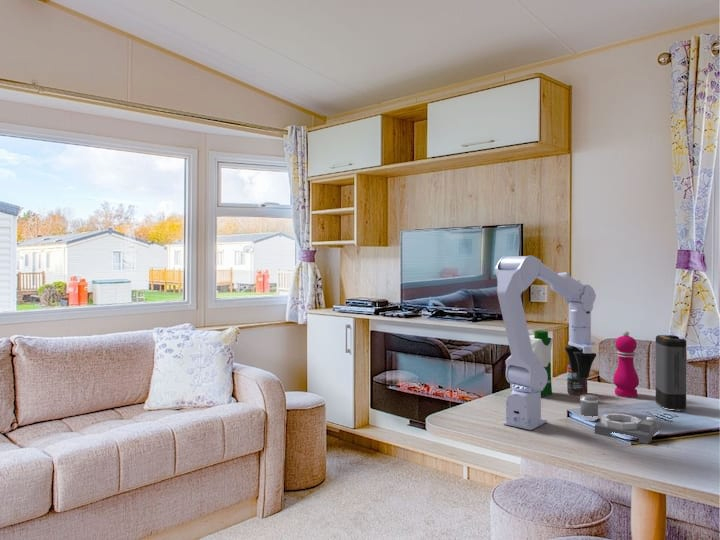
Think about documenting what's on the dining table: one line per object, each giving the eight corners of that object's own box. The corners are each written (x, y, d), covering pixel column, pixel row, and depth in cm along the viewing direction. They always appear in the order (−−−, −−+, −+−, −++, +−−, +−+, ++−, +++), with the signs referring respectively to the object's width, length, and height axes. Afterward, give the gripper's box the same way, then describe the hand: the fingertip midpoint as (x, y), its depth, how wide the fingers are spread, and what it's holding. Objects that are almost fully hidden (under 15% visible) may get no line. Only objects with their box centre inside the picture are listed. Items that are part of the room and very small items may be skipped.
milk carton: (539, 398, 169) (539, 333, 169) (515, 392, 177) (514, 330, 176) (556, 393, 175) (556, 330, 174) (532, 388, 182) (531, 328, 181)
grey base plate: (647, 444, 128) (647, 425, 128) (594, 433, 136) (594, 415, 136) (660, 433, 135) (660, 415, 135) (609, 423, 144) (609, 407, 144)
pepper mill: (608, 393, 174) (607, 330, 173) (624, 391, 177) (624, 328, 176) (627, 399, 167) (627, 333, 167) (644, 396, 170) (644, 331, 170)
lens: (594, 422, 145) (594, 399, 145) (577, 419, 148) (577, 397, 148) (601, 418, 148) (601, 396, 148) (584, 415, 151) (584, 393, 151)
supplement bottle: (584, 391, 177) (584, 356, 177) (590, 396, 171) (589, 359, 171) (564, 391, 178) (564, 356, 177) (570, 396, 172) (569, 359, 172)
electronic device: (688, 412, 153) (688, 340, 152) (664, 411, 154) (664, 339, 154) (676, 403, 162) (676, 335, 161) (654, 402, 163) (654, 334, 163)
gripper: (603, 330, 148) (603, 380, 148) (586, 323, 162) (586, 369, 163) (576, 330, 149) (576, 380, 149) (561, 323, 163) (561, 369, 163)
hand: (579, 374), depth 156 cm, fingers open, 7 cm apart
